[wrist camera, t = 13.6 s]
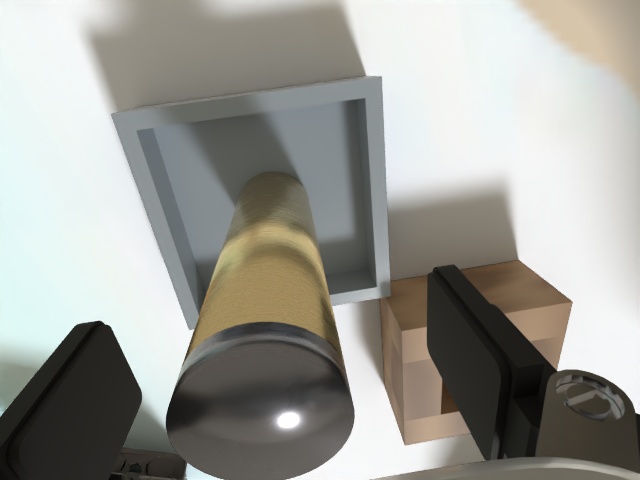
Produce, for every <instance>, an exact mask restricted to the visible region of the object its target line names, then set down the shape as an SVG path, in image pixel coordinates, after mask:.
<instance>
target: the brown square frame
mask: <svg viewBox="0 0 640 480" xmlns="http://www.w3.org/2000/svg"><path fill="white" fill-rule="evenodd" d="M460 271H461V272H462V273H463V274H464V275H465V277H466V278H467V279H468V280H469V281H470V282H471V283H472V284H473V285H474V286H475V288H476V289H477V290H478V291H479V292H480V293H481V294H482V295H483V296H484V297H485V299H486V300H487V301H488V302H489V303H490V304H494V305H496V306H497V307H498V308H499V309H500V310H501V311H502V312H503V313H504V314H505V315H506V316H507V317H508V319H509V320H510V321H511V322H512V323H513V324H514V325H515V326H516V327H517V328H518V329H519V330H520V331H521V333H522V334H523V335H524V336H525V337H526V338H527V339H528V340H529V341H530V342H531V343H532V344H533V345H534V347H535V348H536V349H537V350H538V351H539V352H540V353H541V354H542V355H543V356H544V357H545V358H546V359H547V361H548V362H549V363H550V364H551V365H552V366H553V367H554V368H555V369H556V370H557V367H558V363H559V359H560V354H561V350H562V346H563V341H564V337H565V333H566V329H567V324H568V320H569V316H570V311H571V307H572V303H573V302H572V301H571V300H570V299H568V298H567V297H566V296H565V295H563V294H562V293H561V292H559V291H558V290H557V289H556V288H554V287H553V286H552V285H550V284H549V283H548V282H547V281H545V280H544V279H543V278H541V277H540V276H539V275H538V274H536V273H535V272H534V271H532V270H531V269H530V268H529V267H527V266H526V265H525V264H523V263H522V262H521V261H520V260H517V261H511V262H505V263H499V264H493V265H487V266H480V267H474V268H468V269H462V270H460ZM427 276H428V275H426V276H420V277H414V278H408V279H402V280H396V281H390V288H391V296H389V297H383V298H380V314H381V331H382V348H383V365H384V382H385V389H386V392H387V395H388V398H389V401H390V404H391V407H392V410H393V412H394V415H395V418H396V421H397V424H398V427H399V430H400V433H401V436H402V439H403V442H404V445H410V444H416V443H421V442H426V441H432V440H437V439H442V438H448V437H453V436H458V435H464V434H469V433H470V431H469V429H468V427H467V425H466V423H465V421H464V419H463V417H462V416H461V414H460V412H459V410H458V408H457V406H456V404H455V402H454V400H453V398H452V397H451V395H450V393H449V391H448V389H447V387H446V385H445V383H444V381H443V380H442V378H441V376H440V374H439V372H438V370H437V368H436V366H435V364H434V362H433V361H432V359H431V357H430V355H429V352H428V348H427Z"/></svg>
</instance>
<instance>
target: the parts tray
mask: <svg viewBox="0 0 640 480" xmlns="http://www.w3.org/2000/svg"><path fill="white" fill-rule="evenodd" d="M111 116H112V119H113V121H114V124H115V127H116V130H117V132H118V135H119V138H120V141H121V143H122V146H123V149H124V152H125V155H126V157H127V160H128V163H129V166H130V168H131V171H132V174H133V177H134V179H135V182H136V185H137V188H138V190H139V193H140V196H141V199H142V201H143V204H144V207H145V210H146V212H147V215H148V218H149V221H150V223H151V226H152V229H153V232H154V235H155V237H156V240H157V243H158V246H159V248H160V251H161V254H162V257H163V259H164V262H165V265H166V268H167V270H168V273H169V276H170V279H171V281H172V284H173V287H174V290H175V292H176V295H177V298H178V301H179V304H180V306H181V309H182V312H183V315H184V317H185V320H186V323H187V326H188V328H189V330H192V329H195V327H196V324H197V321H198V318H199V315H200V312H201V309H202V306H203V303H204V300H205V297H206V294H207V291H208V288H209V285H210V282H211V279H212V276H213V273H214V270H215V267H216V264H217V261H218V258H219V256H220V253H221V250H222V247H223V244H224V241H225V238H226V235H227V232H228V229H229V226H230V223H231V220H232V217H233V214H234V211H235V208H236V205H237V202H238V199H239V196H240V193H241V191H242V189H243V187H244V186H245V184H246V183H247V182H248V181H249V180H250V179H251V178H253V177H254V176H256V175H258V174H261V173H264V172H270V171H278V172H283V173H286V174H288V175H291V176H292V177H294V178H295V179H297V180H298V181H299V182H300V183H301V184H302V185H303V187H304V188H305V190H306V192H307V195H308V198H309V203H310V207H311V212H312V217H313V221H314V226H315V231H316V235H317V240H318V244H319V249H320V254H321V258H322V263H323V268H324V272H325V277H326V281H327V286H328V291H329V295H330V300H331V305H332V306H335V305H341V304H347V303H353V302H359V301H365V300H371V299H377V298H383V297H389V296H391V288H390V264H389V240H388V216H387V192H386V168H385V144H384V119H383V95H382V76H362V77H354V78H347V79H340V80H333V81H325V82H318V83H311V84H304V85H296V86H289V87H282V88H275V89H268V90H260V91H253V92H246V93H239V94H231V95H224V96H217V97H210V98H203V99H195V100H188V101H181V102H174V103H166V104H159V105H152V106H145V107H137V108H133V109H129V110H125V111H121V112H117V113H113V114H111Z"/></svg>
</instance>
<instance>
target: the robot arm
mask: <svg viewBox="0 0 640 480" xmlns="http://www.w3.org/2000/svg"><path fill="white" fill-rule="evenodd" d="M427 348H428V352H429V355H430V357H431V359H432V361H433V362H434V364H435V366H436V368H437V370H438V372H439V374H440V376H441V378H442V380H443V381H444V383H445V385H446V387H447V389H448V391H449V393H450V395H451V397H452V398H453V400H454V402H455V404H456V406H457V408H458V410H459V412H460V414H461V416H462V417H463V419H464V421H465V423H466V425H467V427H468V429H469V431H470V433H471V434H472V436H473V438H474V440H475V442H476V444H477V446H478V448H479V450H480V452H481V453H482V455H483V457H484V459H485V460H486V461H481V462H475V463H468V464H462V465H456V466H449V467H443V468H436V469H430V470H423V471H417V472H411V473H405V474H399V475H394V476H388V477H382V478H376V479H371V480H640V414H637V413H635V409H634V406H633V403H632V401H631V400H630V399H629V397H628V396H627V395H626V394H625V392H623V391H622V390H621V389H620V388H619V387H617V386H616V385H615V384H613V383H612V382H610V381H608V380H607V379H605V378H603V377H601V376H598V375H595V374H593V373H590V372H586V371H581V370H562V371H557V370H556V369H555V368H554V367H553V366H552V365H551V364H550V363H549V362H548V361H547V359H546V358H545V357H544V356H543V355H542V354H541V353H540V352H539V351H538V350H537V349H536V348H535V347H534V345H533V344H532V343H531V342H530V341H529V340H528V339H527V338H526V337H525V336H524V335H523V334H522V333H521V331H520V330H519V329H518V328H517V327H516V326H515V325H514V324H513V323H512V322H511V321H510V320H509V319H508V317H507V316H506V315H505V314H504V313H503V312H502V311H501V310H500V309H499V308H498V307H497V306H496V305H494V304H490V303H489V302H488V301H487V300H486V299H485V297H484V296H483V295H482V294H481V293H480V292H479V291H478V290H477V289H476V288H475V286H474V285H473V284H472V283H471V282H470V281H469V280H468V279H467V278H466V277H465V275H464V274H463V273H462V272H461V271H460V270H459V269H458V268H457V267H456V266H455V265H447V266H441V267H435V268H434V269H433V273H429V274H428V276H427ZM141 401H142V392H141V389H140V387H139V385H138V383H137V381H136V379H135V377H134V375H133V373H132V370H131V368H130V366H129V364H128V362H127V360H126V358H125V356H124V354H123V352H122V349H121V347H120V345H119V343H118V341H117V339H116V337H115V335H114V333H113V331H112V329H111V327H110V326H109V325H105V324H104V323H103V322H102V321H94V322H88V323H82V324H78V325H76V326H75V327H74V328H73V329H72V330H71V332H70V333H69V334H68V335H67V336H66V338H65V339H64V340H63V341H62V342H61V344H60V345H59V346H58V347H57V349H56V350H55V351H54V352H53V353H52V355H51V356H50V357H49V358H48V360H47V361H46V362H45V363H44V364H43V366H42V367H41V368H40V369H39V370H38V372H37V373H36V374H35V375H34V377H33V378H32V379H31V380H30V381H29V383H28V384H27V385H26V386H25V388H24V389H23V390H22V391H21V392H20V394H19V395H18V396H17V397H16V398H15V400H14V401H13V402H12V403H11V405H10V406H9V407H8V408H7V409H6V411H5V412H4V413H3V414H2V416H1V417H0V480H109V477H110V475H111V473H112V470H113V468H114V466H115V463H116V461H117V459H118V456H119V454H120V452H121V449H122V447H123V445H124V442H125V440H126V438H127V435H128V433H129V431H130V428H131V426H132V423H133V421H134V419H135V416H136V414H137V412H138V409H139V407H140V405H141Z"/></svg>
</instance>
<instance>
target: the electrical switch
mask: <svg viewBox="0 0 640 480" xmlns="http://www.w3.org/2000/svg"><path fill="white" fill-rule="evenodd" d="M121 453H122V454H123V455H122V454H121ZM125 460H126V464H125V466H124V468H123V469H122V470H121V468H122V466H123V464H124V462H125ZM149 462H150V463H149ZM136 463H139V464H140V466H141V472H140V473H137V472H129V469H130V467H131V465H132V464H136ZM148 463H149V464H148ZM147 464H148V470H147V472H146V466H147ZM185 464H186V465H185ZM186 467H187V462H186V461H185V460H184V459H183V458H182V457H181V456H180V455H177V454H169V453H161V452H153V451H146V450H138V449H130V448H122V449H121V452H120V454H119V456H118V459H117V461H116V463H115V466H114V468H113V470H112V473H111V475H110V477H109V480H187V478H184V477H185V472H186ZM147 473H148V474H147ZM170 475H171V476H170Z"/></svg>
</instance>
